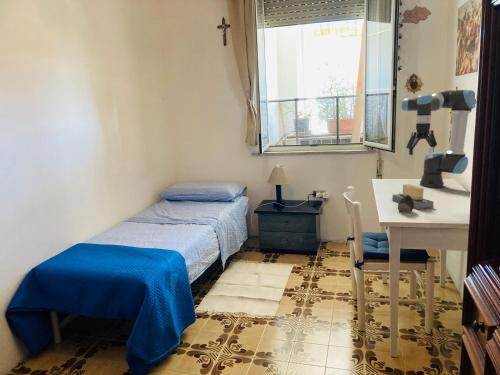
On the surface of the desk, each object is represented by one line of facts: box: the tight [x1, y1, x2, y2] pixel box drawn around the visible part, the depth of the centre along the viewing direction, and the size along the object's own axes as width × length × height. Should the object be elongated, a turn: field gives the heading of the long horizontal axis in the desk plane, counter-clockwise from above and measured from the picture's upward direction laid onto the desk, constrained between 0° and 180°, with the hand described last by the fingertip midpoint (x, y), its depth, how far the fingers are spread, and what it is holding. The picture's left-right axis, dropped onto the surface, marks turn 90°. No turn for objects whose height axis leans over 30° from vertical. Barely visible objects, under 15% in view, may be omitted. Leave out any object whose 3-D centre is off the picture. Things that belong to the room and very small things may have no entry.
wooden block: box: [402, 183, 425, 202], centre depth 222 cm, size 4×12×9 cm, turn 19°
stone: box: [397, 195, 415, 213], centre depth 209 cm, size 8×7×10 cm
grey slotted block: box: [391, 192, 435, 211], centre depth 223 cm, size 10×22×4 cm, turn 19°
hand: (421, 159), depth 225 cm, fingers open, 13 cm apart
